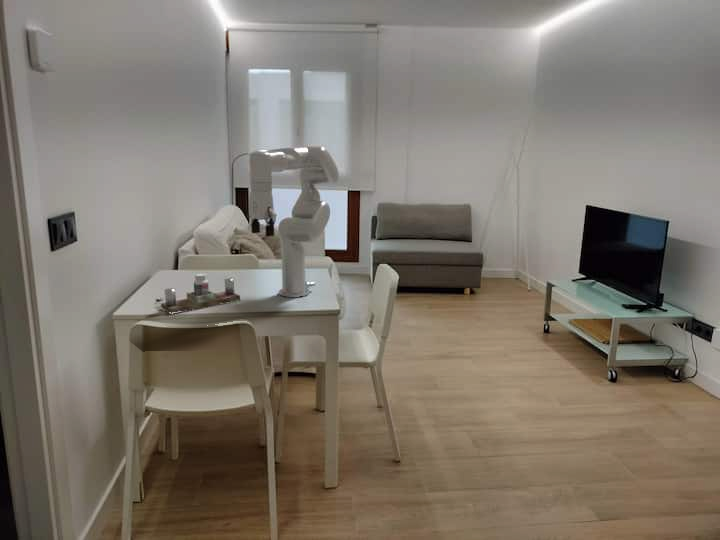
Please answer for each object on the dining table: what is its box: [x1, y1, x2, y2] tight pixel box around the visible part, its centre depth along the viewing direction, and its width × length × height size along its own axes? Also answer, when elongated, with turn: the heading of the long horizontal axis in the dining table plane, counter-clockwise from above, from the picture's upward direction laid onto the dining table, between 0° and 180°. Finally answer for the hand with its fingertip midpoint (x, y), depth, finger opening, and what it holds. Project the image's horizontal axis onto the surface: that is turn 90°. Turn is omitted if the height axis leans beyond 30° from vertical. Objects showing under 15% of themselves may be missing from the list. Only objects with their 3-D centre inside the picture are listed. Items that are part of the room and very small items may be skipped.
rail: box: [160, 290, 241, 313], centre depth 205 cm, size 28×9×4 cm, turn 131°
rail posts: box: [164, 277, 235, 307], centre depth 204 cm, size 28×4×6 cm, turn 131°
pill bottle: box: [193, 273, 210, 296], centre depth 204 cm, size 5×5×10 cm
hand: (262, 234), depth 195 cm, fingers open, 9 cm apart
